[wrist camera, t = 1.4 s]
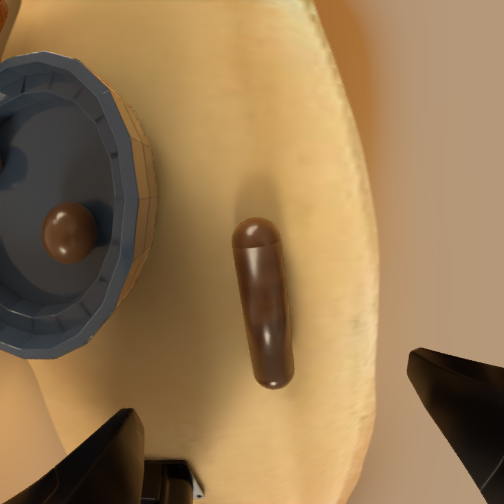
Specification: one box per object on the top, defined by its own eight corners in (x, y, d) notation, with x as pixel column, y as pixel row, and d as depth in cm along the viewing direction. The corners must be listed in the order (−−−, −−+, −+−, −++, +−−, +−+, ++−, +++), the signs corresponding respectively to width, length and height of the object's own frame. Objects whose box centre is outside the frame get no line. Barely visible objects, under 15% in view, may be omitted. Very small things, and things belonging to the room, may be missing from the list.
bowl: (184, 309, 16) (174, 351, 12) (-2, 328, 15) (-35, 356, 11) (146, 46, 13) (125, 7, 8) (-37, 127, 12) (-76, 123, 7)
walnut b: (111, 251, 14) (88, 266, 11) (65, 259, 14) (38, 275, 11) (100, 194, 14) (74, 197, 11) (54, 206, 13) (24, 212, 10)
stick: (291, 370, 18) (299, 392, 16) (253, 377, 18) (258, 401, 15) (273, 212, 16) (282, 216, 13) (227, 218, 15) (229, 225, 13)
